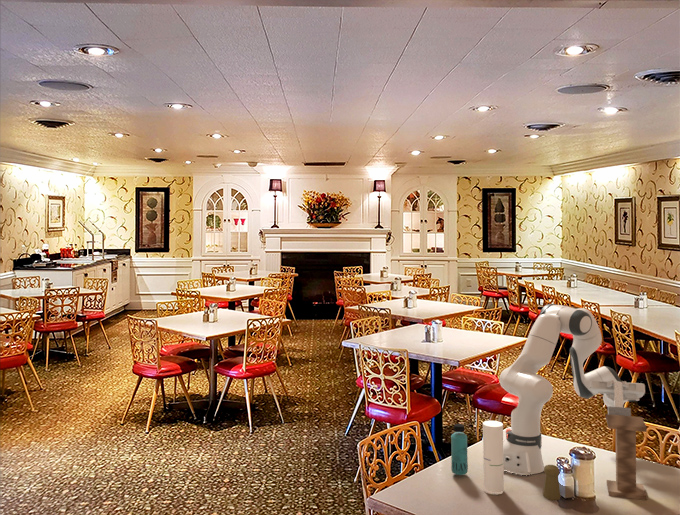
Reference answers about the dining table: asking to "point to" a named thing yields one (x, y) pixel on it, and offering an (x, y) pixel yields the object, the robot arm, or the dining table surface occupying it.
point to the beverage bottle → (459, 450)
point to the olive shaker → (551, 483)
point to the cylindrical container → (493, 456)
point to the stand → (626, 456)
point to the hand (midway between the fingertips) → (618, 382)
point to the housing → (618, 402)
